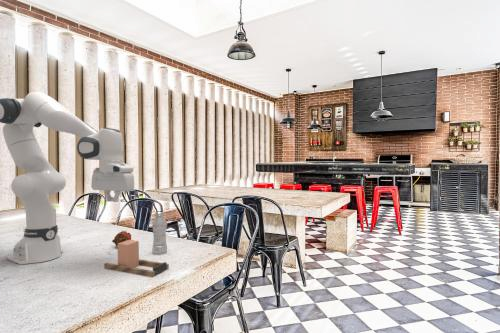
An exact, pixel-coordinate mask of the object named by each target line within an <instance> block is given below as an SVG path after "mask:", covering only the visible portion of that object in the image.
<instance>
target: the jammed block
mask: <svg viewBox="0 0 500 333" xmlns="http://www.w3.org/2000/svg"><path fill="white" fill-rule="evenodd" d="M139 243H140V242H139V240H133V239H131V240H127V241H124V242H121V243H118V246H117V265H122V266H128V267H134V268H138V266H140V265H139V259H140V256H139V255H140V246H139V245H140V244H139Z"/></svg>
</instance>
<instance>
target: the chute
mask: <svg viewBox="0 0 500 333" xmlns="http://www.w3.org/2000/svg"><path fill="white" fill-rule="evenodd" d="M103 266H104V267H103V268H104V269H106V270H111V271H116V272H122V273H127V274H134V275H139V276H144V277H148V278H153V277H156V276H158V275H159V274H162V273H163V272H165V271H167V270H168V269H169V268H170V267H169V266H170V265H169V263H167V262H166V261H165V262H158V261H153V260H145V259H140V258H139V266H141V267H142V266H143V267H148V268H152V269H151V270H150V269H145V268H139V267H128V266H122V265H118V264H115V263H109V262H105V263H104V264H103Z"/></svg>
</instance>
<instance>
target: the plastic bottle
mask: <svg viewBox="0 0 500 333" xmlns="http://www.w3.org/2000/svg"><path fill="white" fill-rule="evenodd" d="M164 213H165V212H164V211H162V210H159V211H154V217H155V218H154V219H153V220H152V231H153V235H152V236H153V240H152V241H153V242H152V248H151V249H152V254H154V255H164V254H166V253H167V252H168V244H167V228H168V221H167V219H166V218H165V217H164V216H165V214H164Z"/></svg>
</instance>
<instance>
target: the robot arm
mask: <svg viewBox="0 0 500 333" xmlns="http://www.w3.org/2000/svg"><path fill="white" fill-rule="evenodd" d="M0 123H2V124H4V125H3V127H2V134H3V138H4V142H5V144H6V147H7V149H8V151H9V154H10V156H11V158H12V160H13V163H14V164H15V165H16V166H17V167H18V168H20V169H22V170H23V171H24V173H22V174H19V175H17V176H15V177H14V178H13V179H12V181H11V185H10V188H11V191H12V192H13V193H12V194H14V195H15V196H16V197H17V198H19V199H20V201H21V203H22V204H23V207H24V211H25V221H26V222H25V224H26V227H25V228H24V229H23V231H22V232H23V233H24V234H23V237H22V238H21V239H20V240H19V241H17V243H16V244H15V245H14V247H13V249H12V250H13V254H10V255H8V256H7V257H6V258H7V260H9V261H11V262H13V263H16V264H17V263H18V264H17V265H26V264H35V263H43V262H47V261H51V260H55V259H58V258H59V257H61V256H62V254H63V253H64V249H62V244H61V237H60V235H59V234H58V232H59V231H58V230H59V228H58V224H57V209H56V207H55V205H53V204H52V203H51V201H50V197H49V196H50V195H55V194H58V193H59V192H61V191H63V190H64V188H65V186H66V184H67V183H66V182H67V180H66V178H65V176H64V175H63V174H62V173H60V172H58V171H57V170H56V169H55V168H54V166H52V164H51V163H50V162H49V160H47V158H46V157H45V155H44V152H43V150H42V148H41V147H40V144H39V142H38V140H37V138H36V136H35V134H34V131H33V130H34V127H35V128H41V127H42V125H43V126H45V127H46V128H49V129H50V130H53V131H55V132H56V131H57V132H61V133H66V134H67V133H68V134H70V135H71V134H72V135H74V136H77V137H79V138H80V139H79V140H78V141H77V144H76V151H77V154H78V155H79V157H81V158H82V159H83V160H87V161H88V160H89V161H94V160H95V161H99V167H95V168H94V169H93V172H92V176H91V183H90V184H91V186H90V187H91V189H92V190H94V191H103V194H104V196H105V198H106V202H113V203H117V202H119V200H120V199H119V197H120V196H121V193H122V192H130V191H131V192H133V190H134V188H135V176H134V173H133V172H134V168H135V167H134V166H132V165H129V164H127V163H125V162H124V156H123V152H124V138H123V134H122V131H120V130H119V129H116V128H110V127H101V128H100V129H98V130H96V129H95V128H93V127H92V126H91V125H89V124H88V123H86V122H85V121H83V120H82V119H81V118H79V117H78V116H76V115H75V114H74V113H72V112H71V111H70V110H68V109H67V108H66V107H65V106H63V104H62V103H60V102H58V100H56V99H55V98H53V97H51V96H50V95H48V94H46V93H44V92H42V91H31V92H29V93H27V95H25V97H24V98H9V97H5V98H0ZM112 191H113V193H114V196H112V195H111V192H112Z"/></svg>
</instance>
